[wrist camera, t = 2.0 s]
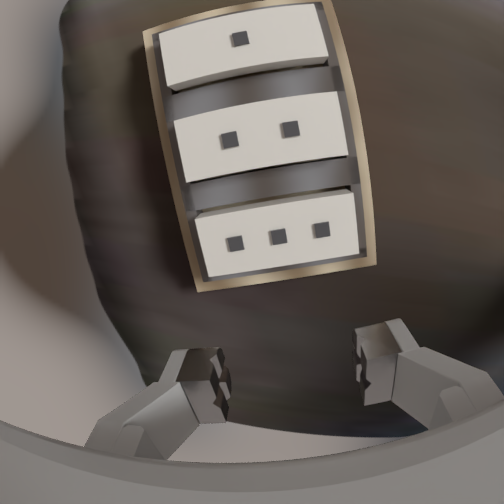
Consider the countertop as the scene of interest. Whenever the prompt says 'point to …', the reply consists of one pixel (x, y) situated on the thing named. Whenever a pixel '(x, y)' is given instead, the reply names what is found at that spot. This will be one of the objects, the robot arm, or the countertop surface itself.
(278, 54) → the key one
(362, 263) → the key panel
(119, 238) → the countertop surface
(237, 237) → the key three
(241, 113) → the key two
